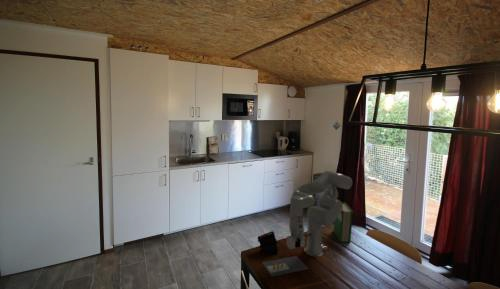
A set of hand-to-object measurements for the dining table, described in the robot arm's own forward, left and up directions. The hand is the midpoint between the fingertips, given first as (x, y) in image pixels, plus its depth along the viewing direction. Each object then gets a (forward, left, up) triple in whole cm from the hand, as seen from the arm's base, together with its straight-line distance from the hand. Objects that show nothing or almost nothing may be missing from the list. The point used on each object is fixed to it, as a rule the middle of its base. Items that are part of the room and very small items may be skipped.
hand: (295, 244), depth 156 cm
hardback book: (-51, -19, -12) cm, 56 cm away
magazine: (+12, -15, -12) cm, 23 cm away
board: (+8, +2, -12) cm, 15 cm away
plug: (-3, 0, -1) cm, 3 cm away
